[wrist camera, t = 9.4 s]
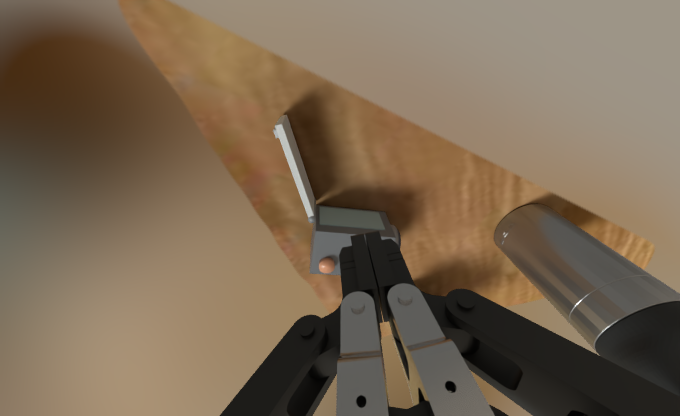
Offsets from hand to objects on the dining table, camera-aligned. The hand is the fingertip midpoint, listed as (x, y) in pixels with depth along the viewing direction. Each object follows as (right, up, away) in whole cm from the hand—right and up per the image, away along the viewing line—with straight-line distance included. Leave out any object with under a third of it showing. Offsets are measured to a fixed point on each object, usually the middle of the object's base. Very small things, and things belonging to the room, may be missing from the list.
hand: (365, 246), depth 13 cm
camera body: (0, -1, +24) cm, 24 cm away
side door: (-6, +8, +18) cm, 20 cm away
